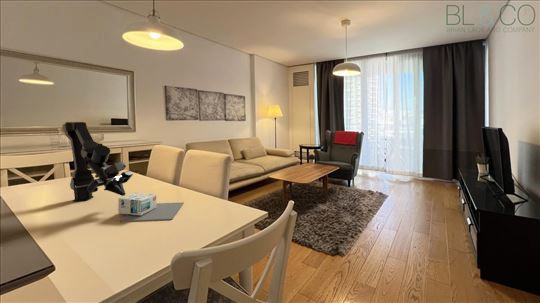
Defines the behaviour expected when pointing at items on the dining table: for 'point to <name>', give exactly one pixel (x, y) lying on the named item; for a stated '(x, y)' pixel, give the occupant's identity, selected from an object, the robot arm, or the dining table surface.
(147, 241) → the dining table surface
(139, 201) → the light bulb box
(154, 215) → the charcoal mat
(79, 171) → the robot arm
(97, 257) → the dining table surface
